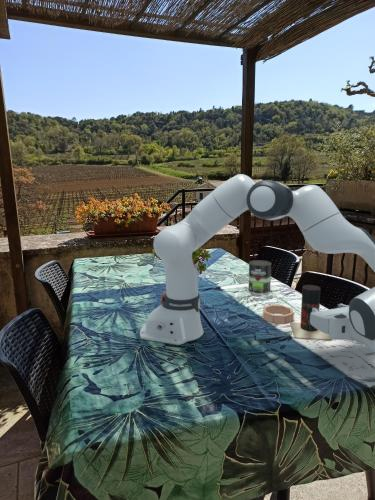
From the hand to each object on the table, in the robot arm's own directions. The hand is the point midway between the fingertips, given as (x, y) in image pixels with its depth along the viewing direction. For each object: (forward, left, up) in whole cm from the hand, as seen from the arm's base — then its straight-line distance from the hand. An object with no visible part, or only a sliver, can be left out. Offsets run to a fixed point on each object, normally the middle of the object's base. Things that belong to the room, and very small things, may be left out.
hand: (326, 307), depth 111 cm
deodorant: (-4, +7, -11) cm, 13 cm away
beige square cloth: (-4, +5, -11) cm, 13 cm away
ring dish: (-14, +16, -11) cm, 24 cm away
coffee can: (-20, +46, -11) cm, 51 cm away
